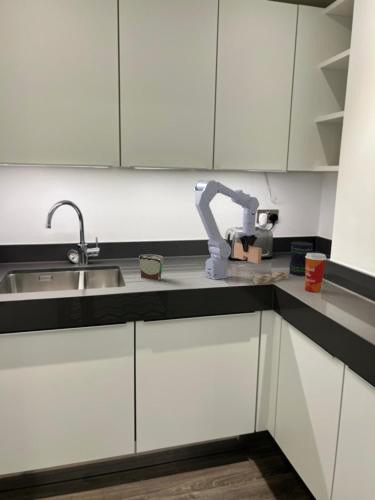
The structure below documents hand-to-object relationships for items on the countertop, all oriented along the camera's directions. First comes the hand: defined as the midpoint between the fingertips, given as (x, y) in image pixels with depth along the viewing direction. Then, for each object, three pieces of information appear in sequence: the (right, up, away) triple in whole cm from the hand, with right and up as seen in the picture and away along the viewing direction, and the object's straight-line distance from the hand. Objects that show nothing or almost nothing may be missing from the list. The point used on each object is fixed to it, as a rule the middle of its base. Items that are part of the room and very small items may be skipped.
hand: (247, 251), depth 177 cm
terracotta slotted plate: (0, -4, +1) cm, 4 cm away
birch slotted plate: (+9, -13, -11) cm, 19 cm away
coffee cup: (+23, -16, -24) cm, 36 cm away
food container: (-43, -12, -12) cm, 46 cm away
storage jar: (+26, -11, +3) cm, 28 cm away
